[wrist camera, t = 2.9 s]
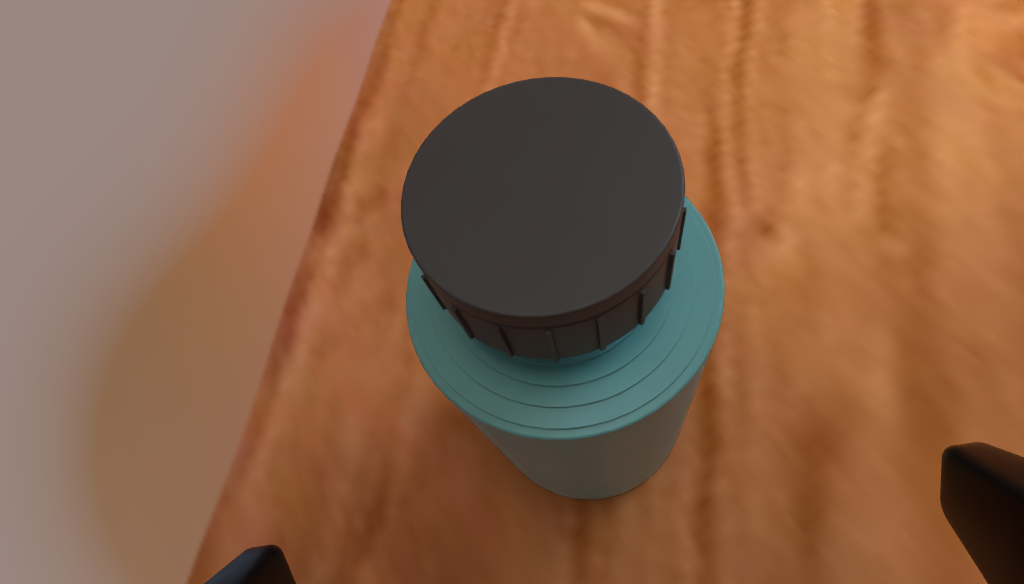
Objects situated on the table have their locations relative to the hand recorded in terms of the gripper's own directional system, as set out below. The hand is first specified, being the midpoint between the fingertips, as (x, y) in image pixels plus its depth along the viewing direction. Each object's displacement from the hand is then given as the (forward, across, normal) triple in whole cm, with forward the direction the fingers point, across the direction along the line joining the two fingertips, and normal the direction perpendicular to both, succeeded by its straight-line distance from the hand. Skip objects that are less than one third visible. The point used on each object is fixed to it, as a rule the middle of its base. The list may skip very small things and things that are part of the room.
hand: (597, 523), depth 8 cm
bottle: (+11, 0, +5) cm, 12 cm away
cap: (+3, 0, -4) cm, 5 cm away
